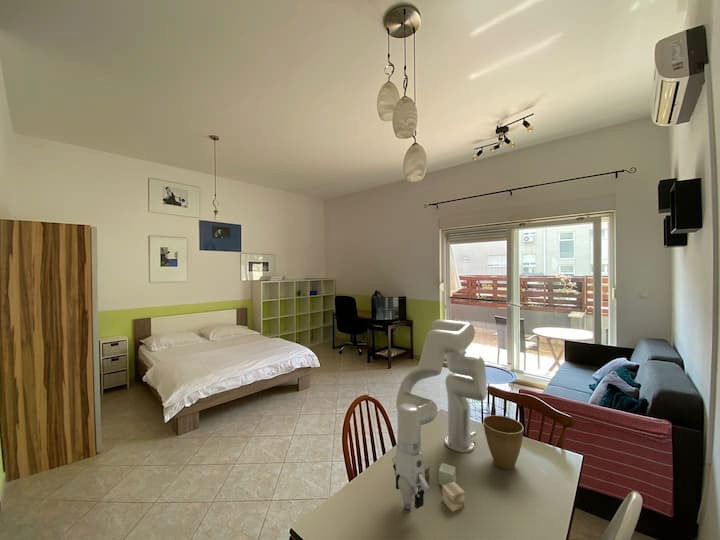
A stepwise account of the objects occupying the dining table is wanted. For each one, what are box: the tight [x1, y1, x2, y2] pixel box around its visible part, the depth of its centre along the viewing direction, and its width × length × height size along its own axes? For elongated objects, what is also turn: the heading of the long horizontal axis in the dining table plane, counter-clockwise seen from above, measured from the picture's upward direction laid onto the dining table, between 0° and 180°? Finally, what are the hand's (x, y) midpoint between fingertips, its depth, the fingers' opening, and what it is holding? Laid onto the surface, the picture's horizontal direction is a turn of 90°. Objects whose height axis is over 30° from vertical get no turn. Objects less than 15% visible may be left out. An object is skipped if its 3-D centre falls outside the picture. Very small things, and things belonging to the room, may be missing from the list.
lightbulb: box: [398, 476, 416, 510], centre depth 94 cm, size 6×6×11 cm
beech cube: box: [441, 481, 466, 512], centre depth 96 cm, size 5×5×5 cm
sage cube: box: [438, 462, 457, 486], centre depth 106 cm, size 5×5×5 cm
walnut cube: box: [417, 463, 430, 483], centre depth 107 cm, size 5×5×5 cm
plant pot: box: [482, 414, 525, 470], centre depth 117 cm, size 15×15×16 cm
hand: (409, 496), depth 94 cm, fingers open, 9 cm apart
